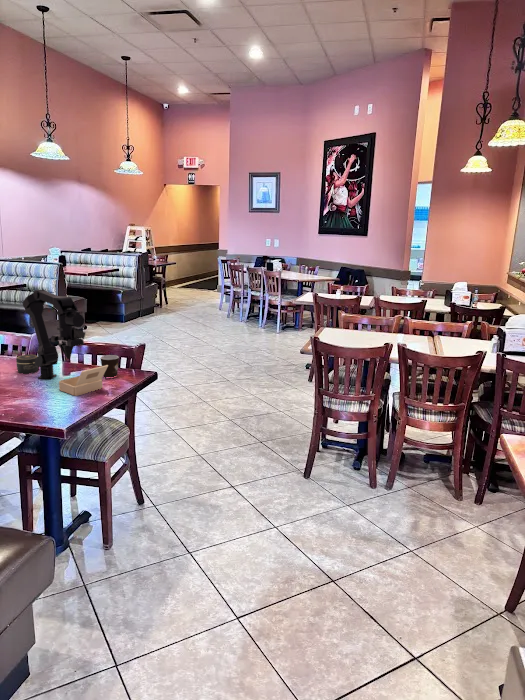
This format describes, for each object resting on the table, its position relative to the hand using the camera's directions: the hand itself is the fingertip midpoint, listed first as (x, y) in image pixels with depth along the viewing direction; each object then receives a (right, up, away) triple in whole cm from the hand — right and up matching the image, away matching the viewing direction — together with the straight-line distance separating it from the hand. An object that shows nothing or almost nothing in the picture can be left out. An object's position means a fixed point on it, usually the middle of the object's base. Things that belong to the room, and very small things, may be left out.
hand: (68, 358), depth 228 cm
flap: (+11, -10, -6) cm, 17 cm away
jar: (-29, -7, +21) cm, 36 cm away
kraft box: (+6, -14, -2) cm, 15 cm away
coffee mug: (+14, -9, +19) cm, 26 cm away
